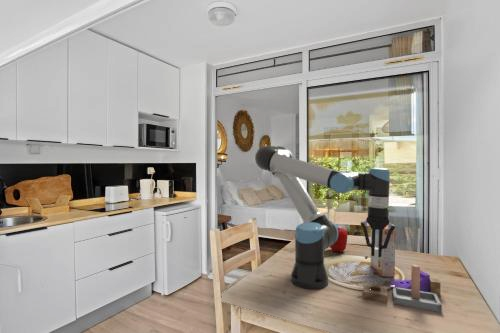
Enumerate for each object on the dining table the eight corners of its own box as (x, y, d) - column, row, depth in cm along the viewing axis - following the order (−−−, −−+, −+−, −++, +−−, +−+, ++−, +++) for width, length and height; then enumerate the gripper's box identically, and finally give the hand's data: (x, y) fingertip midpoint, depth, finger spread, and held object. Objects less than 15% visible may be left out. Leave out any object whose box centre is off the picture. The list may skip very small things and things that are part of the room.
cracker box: (395, 277, 121) (396, 229, 121) (381, 277, 122) (381, 228, 121) (383, 265, 135) (383, 222, 135) (370, 265, 136) (370, 221, 135)
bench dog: (430, 294, 105) (430, 281, 105) (428, 290, 109) (429, 277, 109) (440, 296, 104) (440, 282, 104) (438, 291, 108) (438, 278, 108)
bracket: (416, 285, 114) (417, 268, 114) (429, 293, 108) (429, 275, 107) (389, 287, 113) (389, 269, 113) (400, 295, 106) (400, 276, 106)
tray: (393, 303, 99) (394, 297, 99) (392, 293, 107) (392, 286, 107) (441, 312, 93) (441, 305, 93) (436, 300, 101) (436, 293, 101)
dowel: (411, 300, 99) (412, 267, 99) (410, 297, 102) (411, 264, 101) (420, 302, 98) (420, 268, 98) (419, 298, 101) (419, 265, 100)
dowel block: (363, 298, 103) (363, 291, 103) (363, 289, 110) (363, 282, 110) (387, 302, 100) (387, 295, 99) (386, 293, 107) (386, 286, 107)
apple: (324, 248, 162) (324, 225, 161) (341, 247, 163) (341, 224, 163) (333, 254, 151) (333, 229, 151) (351, 253, 153) (351, 228, 153)
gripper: (360, 206, 113) (358, 264, 114) (397, 209, 108) (394, 270, 109) (361, 203, 120) (359, 258, 121) (395, 206, 115) (393, 263, 116)
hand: (375, 264), depth 115 cm, fingers closed
